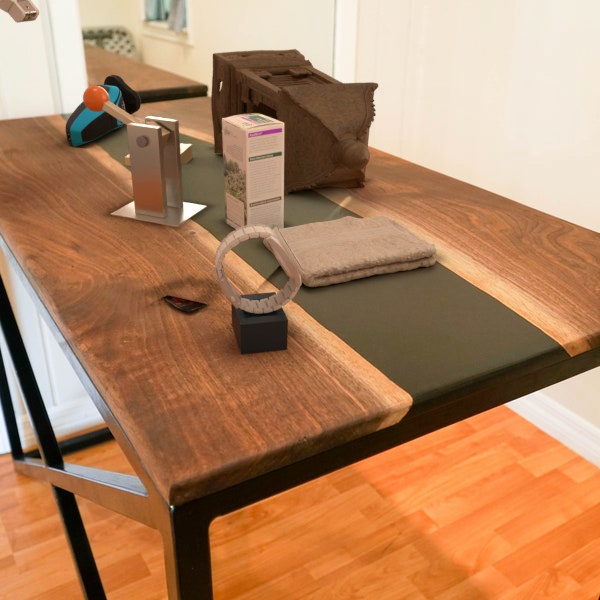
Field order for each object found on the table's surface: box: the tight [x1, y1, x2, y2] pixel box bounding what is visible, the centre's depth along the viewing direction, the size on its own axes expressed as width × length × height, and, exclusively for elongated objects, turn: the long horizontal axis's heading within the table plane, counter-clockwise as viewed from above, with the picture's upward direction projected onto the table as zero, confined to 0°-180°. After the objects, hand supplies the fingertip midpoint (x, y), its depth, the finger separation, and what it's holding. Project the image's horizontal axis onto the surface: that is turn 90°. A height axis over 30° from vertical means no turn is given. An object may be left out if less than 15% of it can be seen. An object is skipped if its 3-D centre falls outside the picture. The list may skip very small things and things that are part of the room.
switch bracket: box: [110, 115, 208, 229], centre depth 85 cm, size 10×8×13 cm
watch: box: [213, 224, 304, 355], centre depth 60 cm, size 6×8×11 cm
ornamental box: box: [210, 48, 379, 196], centre depth 101 cm, size 35×18×18 cm, turn 27°
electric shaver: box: [65, 74, 142, 148], centre depth 124 cm, size 9×26×10 cm
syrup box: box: [222, 113, 285, 230], centre depth 81 cm, size 6×6×14 cm
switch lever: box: [82, 85, 170, 148], centre depth 83 cm, size 12×3×3 cm, turn 69°
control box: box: [124, 142, 194, 167], centre depth 108 cm, size 10×8×4 cm
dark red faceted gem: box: [157, 294, 208, 313], centre depth 68 cm, size 5×5×1 cm
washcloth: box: [262, 215, 437, 288], centre depth 78 cm, size 12×18×3 cm, turn 116°
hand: (29, 18), depth 81 cm, fingers closed
